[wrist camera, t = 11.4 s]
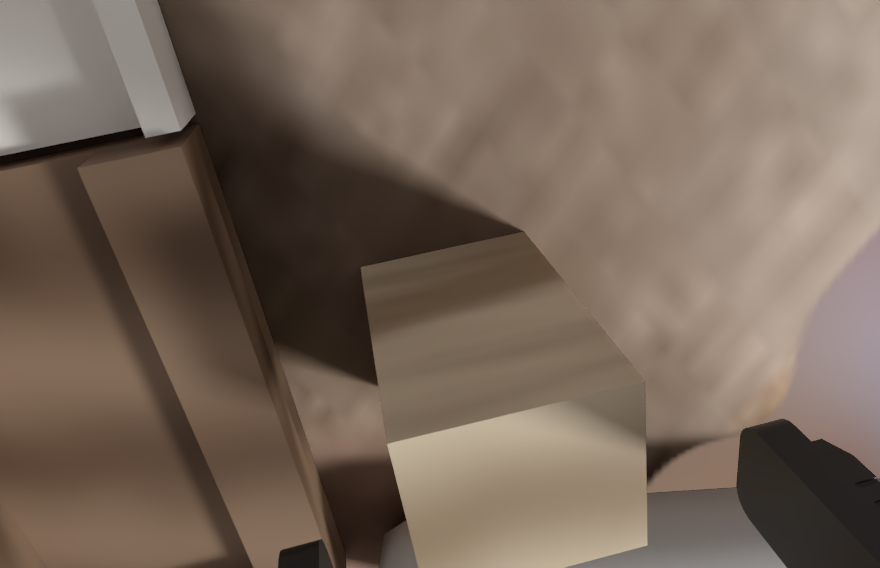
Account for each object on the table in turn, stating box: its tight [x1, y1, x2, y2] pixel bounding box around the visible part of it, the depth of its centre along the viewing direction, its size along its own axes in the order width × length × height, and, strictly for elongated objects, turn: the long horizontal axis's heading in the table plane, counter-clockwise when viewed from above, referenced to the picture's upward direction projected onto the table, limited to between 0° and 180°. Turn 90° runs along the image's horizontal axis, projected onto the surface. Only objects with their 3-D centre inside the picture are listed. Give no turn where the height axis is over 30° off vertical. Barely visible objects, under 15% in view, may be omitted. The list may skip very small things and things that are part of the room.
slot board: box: [0, 124, 346, 568], centre depth 18 cm, size 16×11×2 cm
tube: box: [379, 479, 880, 568], centre depth 24 cm, size 5×5×25 cm
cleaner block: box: [360, 232, 648, 568], centre depth 17 cm, size 4×5×8 cm
